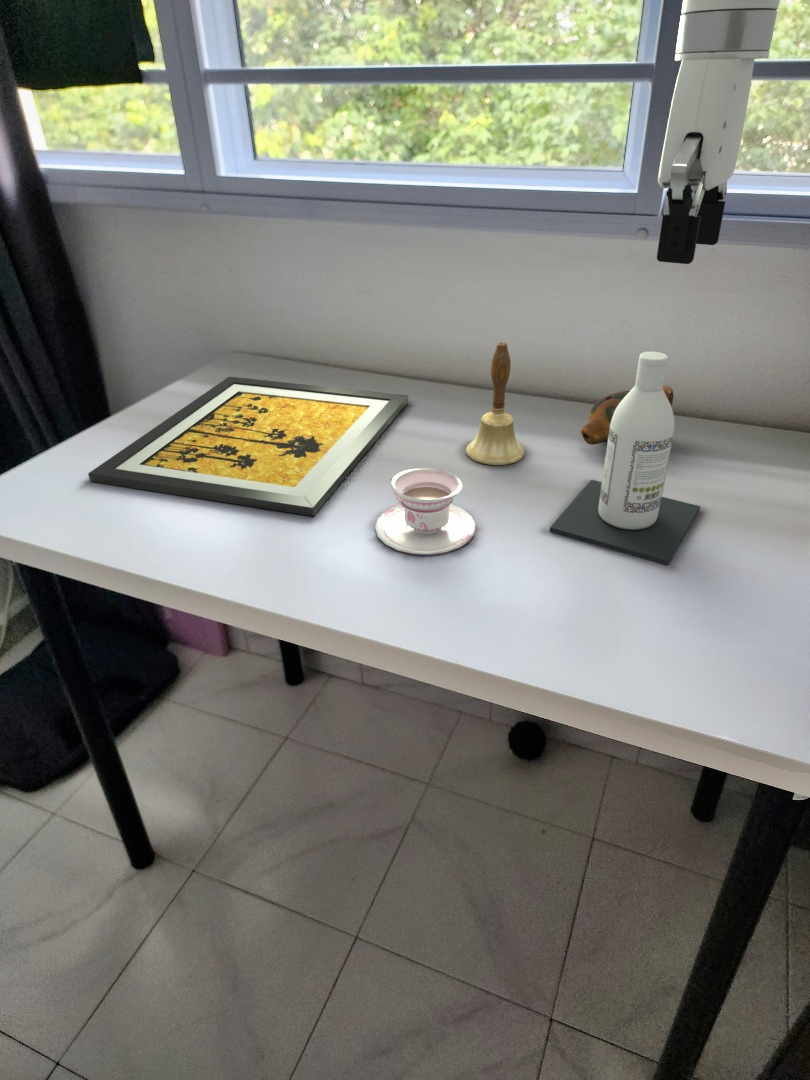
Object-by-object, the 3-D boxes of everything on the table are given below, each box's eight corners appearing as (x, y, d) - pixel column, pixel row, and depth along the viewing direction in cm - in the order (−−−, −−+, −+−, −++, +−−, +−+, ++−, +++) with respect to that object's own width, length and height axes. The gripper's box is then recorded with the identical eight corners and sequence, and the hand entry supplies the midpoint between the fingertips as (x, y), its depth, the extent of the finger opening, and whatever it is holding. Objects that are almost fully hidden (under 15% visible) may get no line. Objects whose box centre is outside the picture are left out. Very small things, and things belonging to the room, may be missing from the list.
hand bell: (536, 451, 107) (545, 341, 99) (500, 471, 102) (507, 357, 94) (490, 435, 112) (495, 329, 104) (454, 453, 107) (456, 344, 99)
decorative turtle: (687, 442, 109) (697, 391, 104) (610, 475, 103) (617, 423, 98) (638, 416, 116) (645, 368, 111) (562, 446, 110) (567, 396, 105)
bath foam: (667, 516, 90) (700, 355, 80) (636, 538, 86) (666, 371, 75) (618, 496, 95) (642, 340, 84) (586, 516, 91) (607, 355, 80)
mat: (699, 510, 93) (700, 506, 92) (667, 565, 83) (668, 560, 82) (590, 483, 99) (591, 479, 99) (549, 531, 89) (549, 527, 89)
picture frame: (228, 376, 131) (408, 395, 123) (229, 382, 132) (408, 401, 123) (87, 473, 101) (313, 508, 92) (89, 481, 102) (314, 516, 93)
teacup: (493, 520, 91) (495, 475, 88) (442, 568, 83) (443, 520, 80) (410, 495, 97) (410, 452, 94) (355, 537, 89) (352, 491, 85)
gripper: (703, 43, 71) (673, 234, 80) (649, 39, 59) (621, 266, 68) (788, 39, 68) (747, 240, 77) (750, 35, 55) (706, 274, 64)
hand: (688, 252), depth 72 cm, fingers open, 9 cm apart
